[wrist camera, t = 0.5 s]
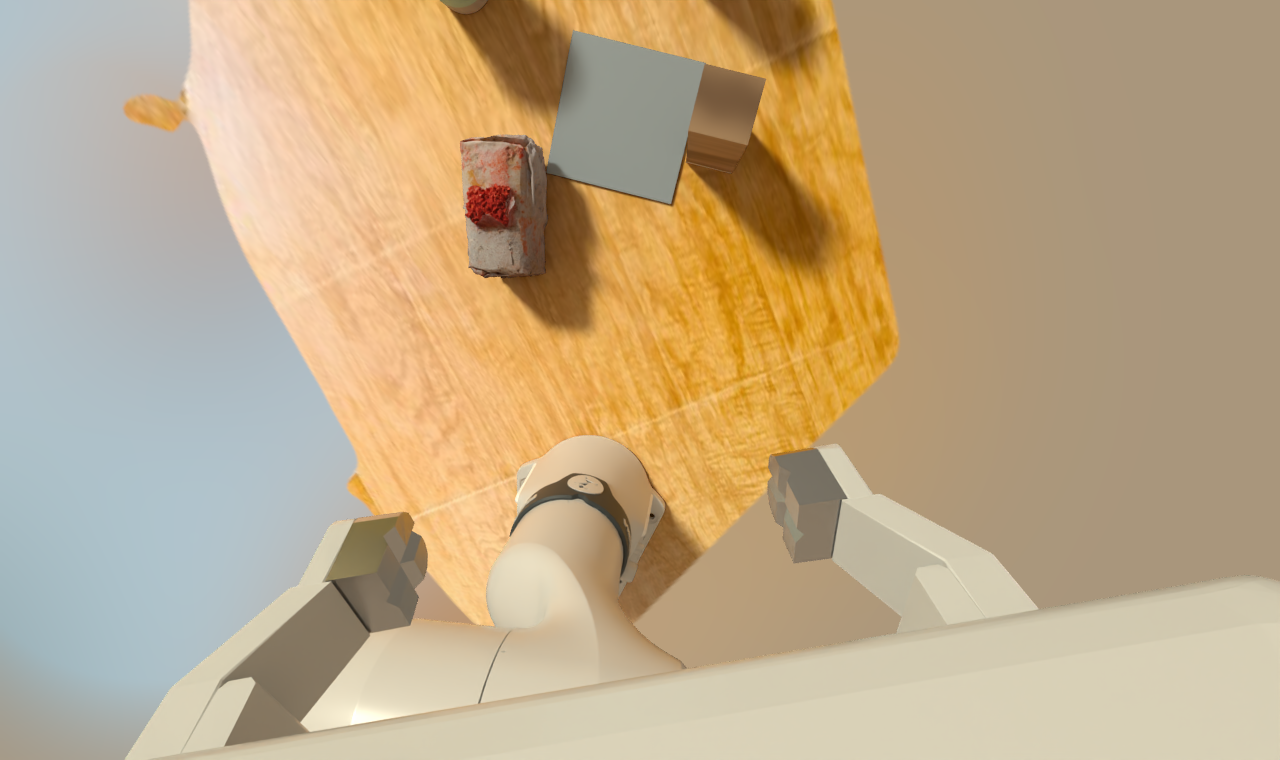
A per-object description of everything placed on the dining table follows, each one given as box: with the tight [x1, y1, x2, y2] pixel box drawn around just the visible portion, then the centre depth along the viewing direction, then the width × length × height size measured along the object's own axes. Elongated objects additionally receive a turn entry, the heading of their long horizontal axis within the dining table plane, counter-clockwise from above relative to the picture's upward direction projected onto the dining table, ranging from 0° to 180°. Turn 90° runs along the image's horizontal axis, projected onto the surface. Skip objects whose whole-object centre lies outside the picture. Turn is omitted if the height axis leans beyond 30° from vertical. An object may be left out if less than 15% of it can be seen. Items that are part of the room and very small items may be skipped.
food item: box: [460, 135, 548, 278], centre depth 51 cm, size 14×8×10 cm, turn 1°
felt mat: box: [546, 30, 706, 204], centre depth 53 cm, size 14×14×1 cm
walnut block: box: [686, 64, 766, 174], centre depth 47 cm, size 5×5×13 cm
